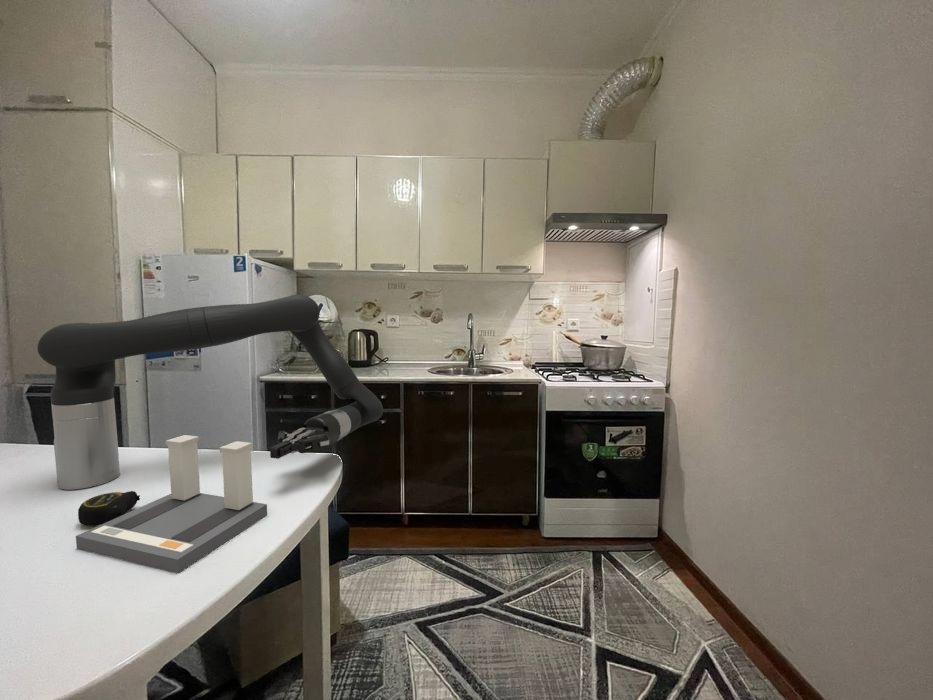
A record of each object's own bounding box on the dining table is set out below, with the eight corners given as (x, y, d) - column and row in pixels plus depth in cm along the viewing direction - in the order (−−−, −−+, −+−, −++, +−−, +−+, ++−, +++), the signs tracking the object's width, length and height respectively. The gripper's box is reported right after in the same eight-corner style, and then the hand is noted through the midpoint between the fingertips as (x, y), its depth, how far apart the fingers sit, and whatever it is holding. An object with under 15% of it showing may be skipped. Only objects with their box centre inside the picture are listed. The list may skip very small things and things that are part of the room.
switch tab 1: (169, 498, 69) (165, 440, 68) (187, 490, 72) (184, 434, 71) (184, 501, 68) (180, 442, 67) (201, 492, 71) (198, 436, 70)
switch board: (76, 548, 58) (75, 534, 58) (180, 499, 73) (180, 488, 73) (178, 573, 53) (177, 558, 52) (267, 514, 68) (266, 503, 68)
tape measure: (120, 527, 64) (119, 505, 64) (68, 533, 62) (66, 511, 62) (141, 507, 70) (139, 487, 70) (94, 512, 68) (92, 492, 68)
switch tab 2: (222, 508, 66) (219, 447, 65) (239, 498, 69) (236, 441, 68) (238, 510, 65) (235, 449, 64) (254, 501, 68) (252, 443, 67)
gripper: (303, 410, 92) (244, 431, 76) (352, 415, 89) (301, 438, 72) (304, 441, 93) (246, 468, 76) (352, 446, 90) (303, 476, 73)
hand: (273, 453), depth 74 cm, fingers closed
